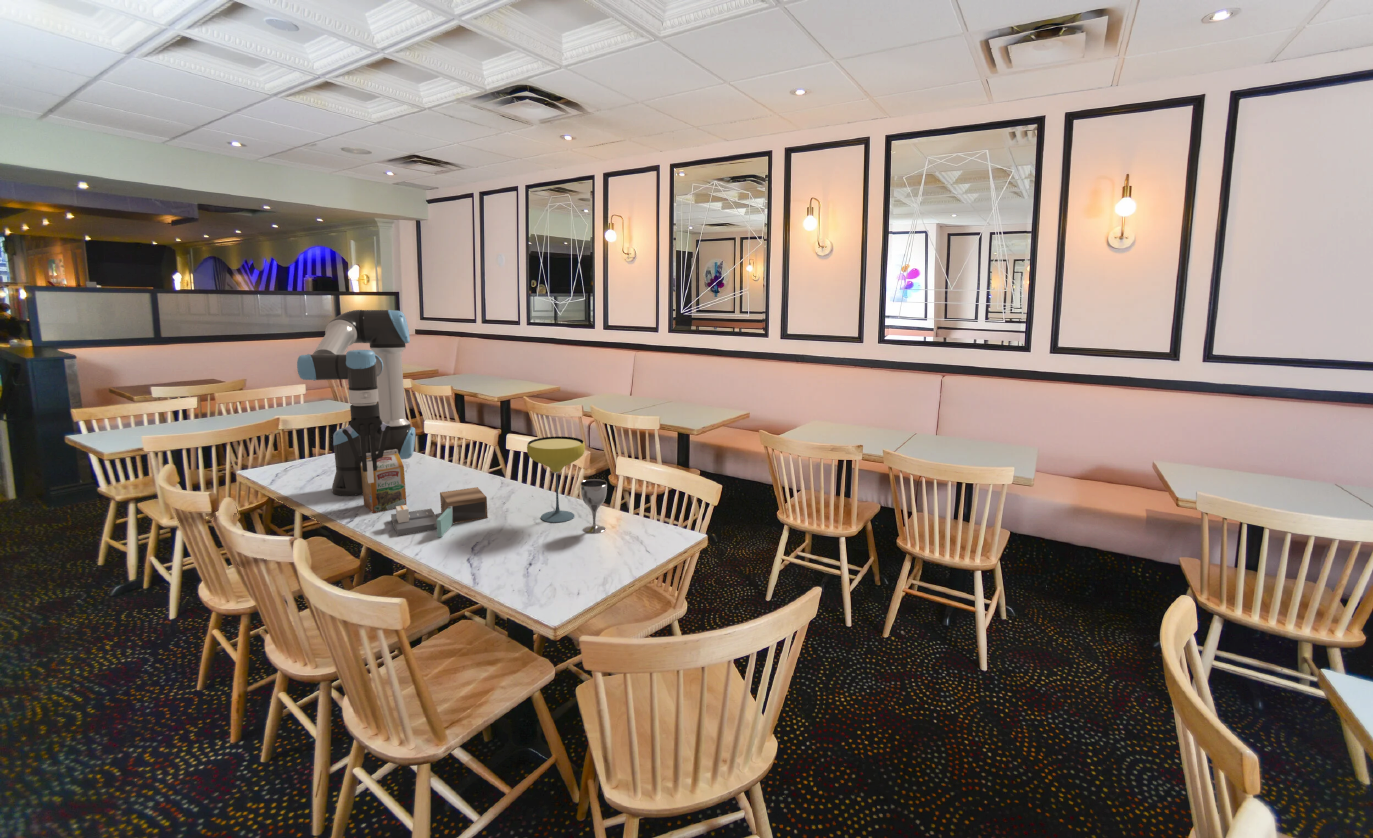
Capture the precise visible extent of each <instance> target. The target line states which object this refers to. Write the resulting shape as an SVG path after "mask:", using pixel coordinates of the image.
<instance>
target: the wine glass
mask: <svg viewBox="0 0 1373 838" xmlns="http://www.w3.org/2000/svg"><path fill="white" fill-rule="evenodd" d="M607 489H608V482H607V481H606V480H603V479H595V478H594V479H593V478H592V479H586V480H583V481H581V482H580V493H581V499H582V502H584V504H585V505H586V506H587V507H588V508H589V510H590V512H591V515H592V525H587V526H584V527H583V529H582V531H583V532H584V533H586V534H589V535H591V534H592V535H595V534H602V533H605V531H606V530H607V529H606V528H607V527H605V526H604V525H599V524H596V523H597V522H596V521H597V520H596V518H597V512H598V510H599V508H600V507H601V506H602V504H603V503H604V502H605V501H606V500H605V499H606V498H607V493H608V490H607ZM605 529H606V530H605ZM604 530H605V531H604ZM601 532H602V533H601Z"/></svg>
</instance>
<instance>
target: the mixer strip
mask: <svg viewBox="0 0 1373 838" xmlns="http://www.w3.org/2000/svg"><path fill="white" fill-rule="evenodd" d="M390 518H391V522H392V526H393V527H394V529H395V532H396V534H397V537H399V536H406V535H412V534H419V533H424V532H431V531H435V530H436V531H437V528H435V527H434V525H435V523H437V519H438V518H439V517H437V515H436V514H435V512H434V511H433V509H432V508H424V509H419V510H413V511H411V510H410V511H409V522H403V523H398V521H397V516H396V513H392V514H390Z"/></svg>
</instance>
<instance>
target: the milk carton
mask: <svg viewBox="0 0 1373 838" xmlns="http://www.w3.org/2000/svg"><path fill="white" fill-rule="evenodd" d="M377 453H378V452H376V454H377ZM366 457H367V460H369V459H371V453H366ZM404 466H405V465H404V463H403V459H401V458H400V456H399V454H398V450H397V449H395V450H388V451H384V453H383V457H382V458H379V459H377V471H373V475H374V483H368V479H367V472H363V469H362V462H361V475H362V487H363V494H362V496H363V497H362V498H363V499H362V500H363V506H365V507H366V508H367V510H369V512H371V513H372V514H376V513H384V512H386V511H393V510H396V506H401V505H407V494H406V492H407V491H406V489H407V488H406V479H405V476H406V475H405V467H404Z"/></svg>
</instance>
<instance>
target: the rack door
mask: <svg viewBox="0 0 1373 838" xmlns="http://www.w3.org/2000/svg"><path fill="white" fill-rule="evenodd" d="M437 518H438V519H437V523H435V525H434V527H435V528H437V530H436V532H437V534H436V535H437V536H436V537H437V538H443V536H444V535H445V534H446V533H447V531H448V530H449V529H450V528H451V527H452V526H453V525H454V523H453V509H452V506H448V508H447V509H446V510H445V512H444V513H443V514H442V513H441V514H440V516H438V517H437Z"/></svg>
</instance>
